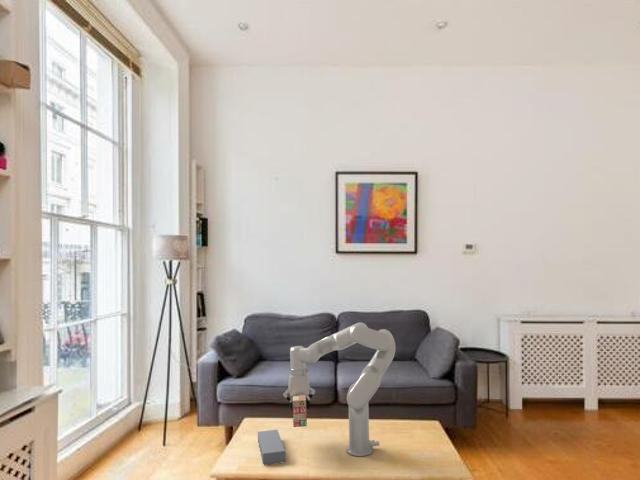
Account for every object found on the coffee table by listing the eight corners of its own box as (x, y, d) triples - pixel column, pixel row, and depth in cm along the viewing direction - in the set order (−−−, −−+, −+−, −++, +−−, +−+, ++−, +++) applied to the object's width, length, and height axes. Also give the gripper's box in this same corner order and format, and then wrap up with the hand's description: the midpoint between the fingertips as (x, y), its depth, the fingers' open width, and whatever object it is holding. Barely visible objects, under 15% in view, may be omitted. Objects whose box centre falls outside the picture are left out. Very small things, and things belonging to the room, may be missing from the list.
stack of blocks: (294, 411, 221) (293, 387, 221) (306, 410, 221) (305, 386, 222) (293, 427, 199) (292, 400, 200) (306, 426, 200) (305, 399, 200)
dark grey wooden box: (277, 439, 220) (277, 429, 220) (285, 462, 194) (285, 450, 195) (257, 441, 217) (257, 431, 217) (263, 465, 192) (262, 453, 192)
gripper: (314, 368, 217) (315, 404, 216) (279, 372, 213) (281, 408, 212) (317, 372, 209) (318, 409, 208) (281, 375, 205) (283, 413, 204)
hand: (299, 408), depth 210 cm, fingers closed on stack of blocks, 6 cm apart
